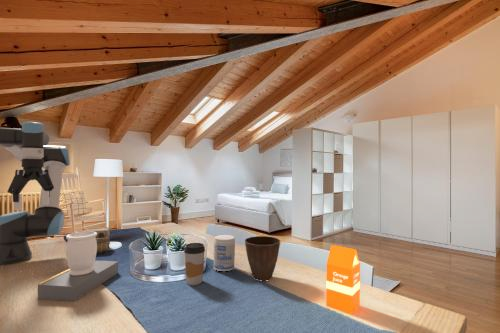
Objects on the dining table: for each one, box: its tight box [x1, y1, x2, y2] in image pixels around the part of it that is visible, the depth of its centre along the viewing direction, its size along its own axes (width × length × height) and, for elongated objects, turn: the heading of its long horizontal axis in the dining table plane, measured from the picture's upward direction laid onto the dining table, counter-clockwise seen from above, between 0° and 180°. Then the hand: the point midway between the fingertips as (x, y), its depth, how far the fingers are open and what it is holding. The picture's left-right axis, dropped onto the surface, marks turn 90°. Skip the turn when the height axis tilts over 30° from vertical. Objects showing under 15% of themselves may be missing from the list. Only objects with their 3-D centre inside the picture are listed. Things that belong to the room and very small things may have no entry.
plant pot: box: [244, 235, 281, 282], centre depth 119 cm, size 15×15×16 cm
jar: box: [65, 230, 98, 276], centre depth 110 cm, size 11×10×15 cm
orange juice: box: [325, 244, 361, 315], centre depth 95 cm, size 8×9×20 cm
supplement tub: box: [213, 234, 236, 272], centre depth 129 cm, size 10×10×15 cm
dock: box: [37, 259, 119, 302], centre depth 110 cm, size 26×14×5 cm, turn 174°
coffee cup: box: [183, 242, 206, 286], centre depth 114 cm, size 8×8×15 cm
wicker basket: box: [84, 226, 111, 255], centre depth 154 cm, size 15×14×11 cm
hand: (32, 207), depth 121 cm, fingers open, 13 cm apart
